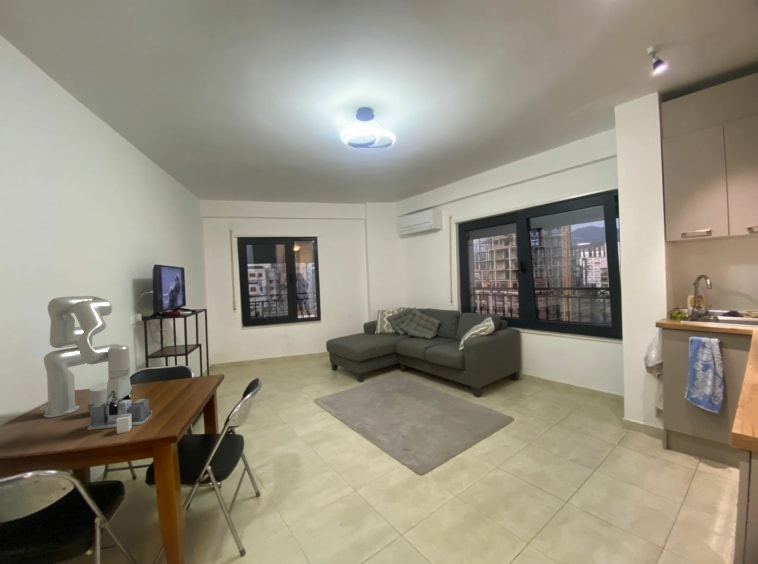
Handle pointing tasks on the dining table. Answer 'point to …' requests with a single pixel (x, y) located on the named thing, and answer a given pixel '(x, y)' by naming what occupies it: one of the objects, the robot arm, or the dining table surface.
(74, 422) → the dining table surface
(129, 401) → the medicine box
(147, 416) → the rail
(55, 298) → the robot arm
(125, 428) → the block
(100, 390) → the smart speaker
